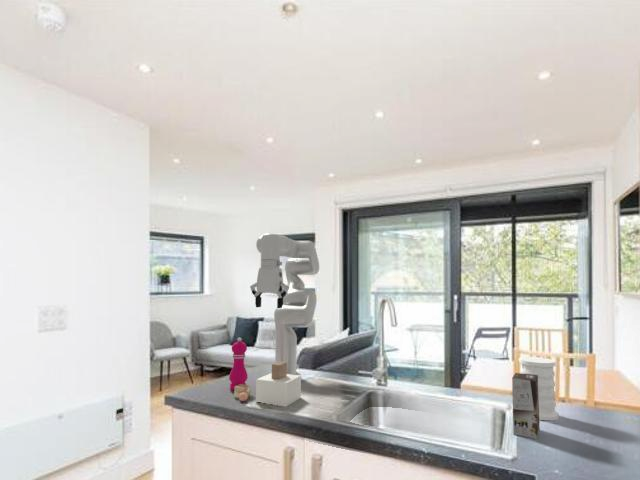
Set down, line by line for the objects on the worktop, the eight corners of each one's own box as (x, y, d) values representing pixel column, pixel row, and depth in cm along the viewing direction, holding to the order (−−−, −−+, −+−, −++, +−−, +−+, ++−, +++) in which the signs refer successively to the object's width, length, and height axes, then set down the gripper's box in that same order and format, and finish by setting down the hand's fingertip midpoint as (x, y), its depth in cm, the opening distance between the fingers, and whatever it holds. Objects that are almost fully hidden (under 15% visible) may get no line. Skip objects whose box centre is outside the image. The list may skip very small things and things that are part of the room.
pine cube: (240, 395, 157) (240, 384, 157) (249, 396, 156) (249, 385, 156) (234, 397, 153) (234, 386, 154) (243, 399, 152) (243, 387, 152)
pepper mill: (245, 391, 162) (246, 339, 164) (226, 390, 162) (228, 338, 164) (248, 386, 169) (250, 336, 171) (231, 386, 169) (232, 336, 171)
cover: (272, 393, 159) (273, 359, 160) (300, 397, 154) (301, 361, 155) (255, 402, 148) (256, 364, 149) (286, 406, 143) (286, 368, 144)
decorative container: (512, 409, 143) (511, 356, 145) (544, 409, 144) (542, 356, 146) (532, 421, 132) (530, 363, 133) (567, 420, 133) (564, 363, 134)
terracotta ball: (241, 399, 151) (242, 391, 151) (249, 400, 150) (249, 391, 150) (237, 401, 148) (237, 393, 148) (244, 402, 147) (244, 394, 147)
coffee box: (537, 439, 117) (535, 380, 118) (512, 434, 120) (511, 377, 122) (540, 429, 124) (538, 374, 126) (516, 425, 128) (515, 371, 129)
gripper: (293, 265, 168) (292, 307, 166) (256, 265, 174) (255, 306, 173) (285, 264, 161) (284, 309, 159) (246, 264, 167) (245, 307, 166)
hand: (269, 307), depth 166 cm, fingers open, 9 cm apart
